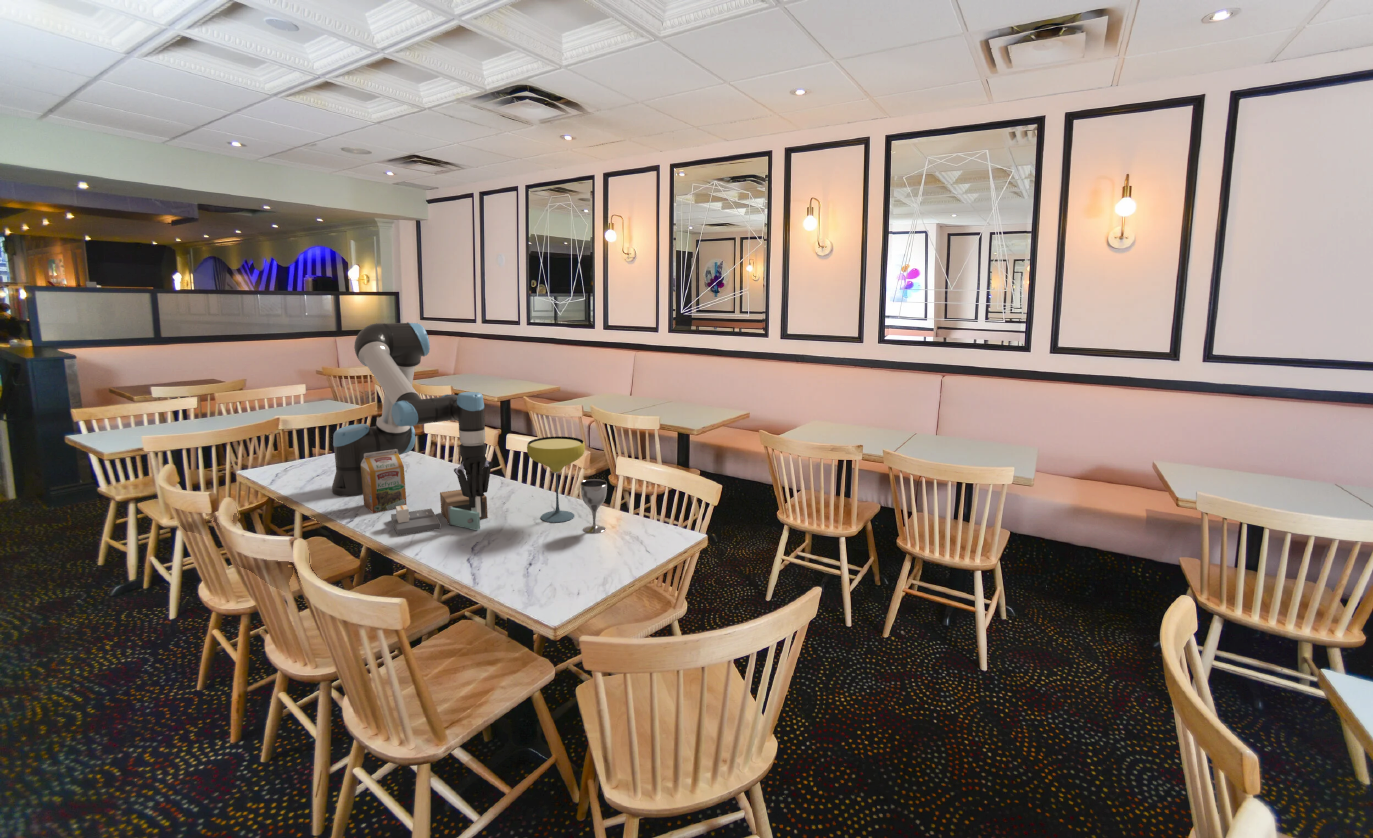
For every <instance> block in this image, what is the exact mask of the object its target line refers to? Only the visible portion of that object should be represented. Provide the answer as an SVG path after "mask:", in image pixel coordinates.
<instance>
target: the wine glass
mask: <svg viewBox="0 0 1373 838" xmlns="http://www.w3.org/2000/svg"><path fill="white" fill-rule="evenodd" d="M607 489H608V483H607V481H606V480H603V479H595V478H594V479H593V478H592V479H586V480H583V481H581V482H580V493H581V499H582V502H584V504H585V505H586V506H587V507H588V508H589V510H590V512H591V515H592V525H587V526H584V527H583V529H582V531H583V532H584V533H586V534H589V535H591V534H592V535H595V534H602V533H605V531H606V530H607V529H606V528H607V527H605V526H604V525H599V524H596V523H597V522H596V521H597V520H596V518H597V512H598V510H599V508H600V507H601V506H602V504H603V503H604V502H605V501H606V500H605V499H606V498H607V493H608V490H607ZM605 529H606V530H605ZM604 530H605V531H604ZM601 532H602V533H601Z"/></svg>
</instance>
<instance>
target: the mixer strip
mask: <svg viewBox="0 0 1373 838" xmlns="http://www.w3.org/2000/svg"><path fill="white" fill-rule="evenodd" d="M390 518H391V522H392V526H393V527H394V529H395V532H396V534H397V537H399V536H406V535H412V534H419V533H424V532H431V531H435V530H441V521H440V520H439V518H438V517H437V515H436V514H435V512H434V511H433V509H432V508H424V509H419V510H413V511H411V510H410V511H409V522H403V523H398V521H397V516H396V513H392V514H390Z"/></svg>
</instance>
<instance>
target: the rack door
mask: <svg viewBox="0 0 1373 838" xmlns="http://www.w3.org/2000/svg"><path fill="white" fill-rule="evenodd" d="M480 522H481V519H480V518H479V512H474V511H469V510H464V509H459V508H453V507H452V506H448V522H447V524H448V523H449V524H448V526H457V527H462V528H467V529H470V530H476V531H478V530H480V529H481V523H480Z"/></svg>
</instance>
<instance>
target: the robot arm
mask: <svg viewBox="0 0 1373 838" xmlns="http://www.w3.org/2000/svg"><path fill="white" fill-rule="evenodd" d="M430 347H431V345H430V340H429V336H428V333H427V330H426V329H425V327H424V326H423V325H422V324H420V323H418V322H417V323H416V322H408V321H407V322H396V323H395V322H391V323H388V322H387V323H386V322H384V323H382V322H381V323H372V324H368V325H367V326H365V327H364V328H363V329H361V330H360V331H359V332H358V334H357V335H356V338H355V340H354V347H353V348H354V353H355V356H356V358H357V360H358V361H359V363H360V364H362V365H363V366H364V367H367V368H368V369H369V371H370V372H371V374H372V375H373V377H374V378H375V380H376V382H377V383H378V384H379V386H380V387H381V388H382V390H383V392H384V395H383V403H382V410H381V411H382V412H381V416H380V417H378V418H377V419H376V423H375V426H371V427H370V426H369V425H368V424H367V423H359V424H350V425H346V426H344V427H341V428H338V429H337V430H335V431H334V433H333V435H332V437H333V440H332V442H333V443H332V445H333V450H334V451H333V452H334V460H335V461H334V462H335V475H334V478H333V481H332V485H331V492H332V493H333V494H334V495H335V496H341V497H342V496H343V497H345V496H347V497H348V496H352V497H353V496H360V495H363V487H362V475H361V462H362V460H363V459H364V454H366V453H373V452H380V451H388V450H395V449H397V450H398V454H399V456H400V455H403V454H404V455H405V454H408V453H410V452H411V451H412V449H413V448H414V446H415V445H416V444H415V443H416V436H415V435H416V431H415V427H414V426H419V425H420V426H421V425H426V424H432V423H433V424H434V423H440V422H449V421H456V422H458V432H459V434H458V435H459V438H458V439H459V443H460V444H459V454H460V458H461V461H460V464H459V466H458V467H456V468H454V469H453V472H454V474H456V476H457V479H458V483H459V486H460V490H461V491H462V494H463V496H465V497H468V498H469V506H470V507H471V511H474V512H479V517H481V505H482V497H483V496H484V495H485V493H486V494H487V492H488V490H489V481H490V477H491V470H492V467H493V464H494V462H493V461H491V460H487V457H486V454H487V445H486V443H485V442H486V440H487V439H486V429H485V427H486V426H485V425H486V424H485V421H486V420H485V403H484V402H485V401H484V396H483V394H482V393H481V392H478V391H465V392H459V393H458V394H450V393H449V394H444V395H441V396H440V397H430V398H422V397H421V396H420V395H419V393H418V392H417V391H416V390H415V388H414V387H413V382H414V374H415V370H416V367H418V366H420V364H421V360H422V357H426V356H428V355H429V353H430V349H431V348H430Z"/></svg>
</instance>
